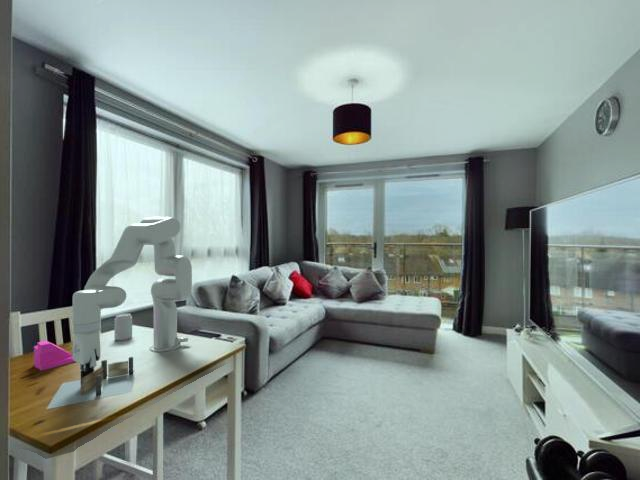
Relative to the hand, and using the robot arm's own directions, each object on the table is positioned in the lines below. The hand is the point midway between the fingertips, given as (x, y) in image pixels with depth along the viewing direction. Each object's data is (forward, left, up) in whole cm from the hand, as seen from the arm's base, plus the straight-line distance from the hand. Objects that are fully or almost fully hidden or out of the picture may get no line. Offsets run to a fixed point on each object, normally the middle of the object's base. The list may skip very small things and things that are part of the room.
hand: (87, 381), depth 101 cm
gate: (-2, +3, -1) cm, 4 cm away
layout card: (-3, +3, -2) cm, 5 cm away
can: (-6, -53, -2) cm, 53 cm away
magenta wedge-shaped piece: (+14, -30, -2) cm, 33 cm away
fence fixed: (-8, +3, -1) cm, 9 cm away
